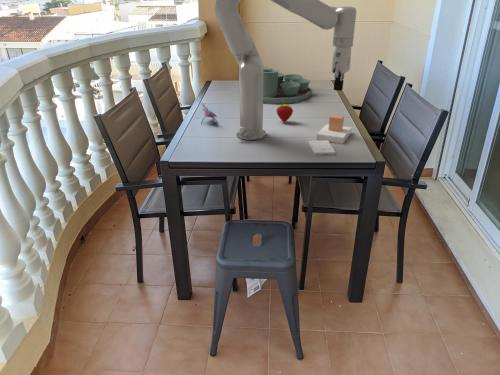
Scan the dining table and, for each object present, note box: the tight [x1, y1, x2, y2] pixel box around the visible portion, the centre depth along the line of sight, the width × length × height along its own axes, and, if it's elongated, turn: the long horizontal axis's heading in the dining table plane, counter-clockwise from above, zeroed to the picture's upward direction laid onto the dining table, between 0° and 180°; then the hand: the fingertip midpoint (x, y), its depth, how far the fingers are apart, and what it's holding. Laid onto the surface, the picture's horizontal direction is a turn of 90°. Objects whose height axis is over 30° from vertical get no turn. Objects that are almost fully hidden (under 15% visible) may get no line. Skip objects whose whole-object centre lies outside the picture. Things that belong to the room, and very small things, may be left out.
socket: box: [315, 123, 353, 145], centre depth 169 cm, size 14×11×2 cm
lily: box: [198, 100, 219, 125], centre depth 185 cm, size 12×12×10 cm
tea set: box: [263, 65, 312, 105], centre depth 227 cm, size 40×40×16 cm
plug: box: [328, 114, 345, 131], centre depth 169 cm, size 4×5×8 cm
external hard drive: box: [308, 140, 337, 156], centre depth 158 cm, size 2×8×12 cm
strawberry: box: [276, 103, 294, 123], centre depth 184 cm, size 6×8×10 cm
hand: (338, 89), depth 163 cm, fingers closed
